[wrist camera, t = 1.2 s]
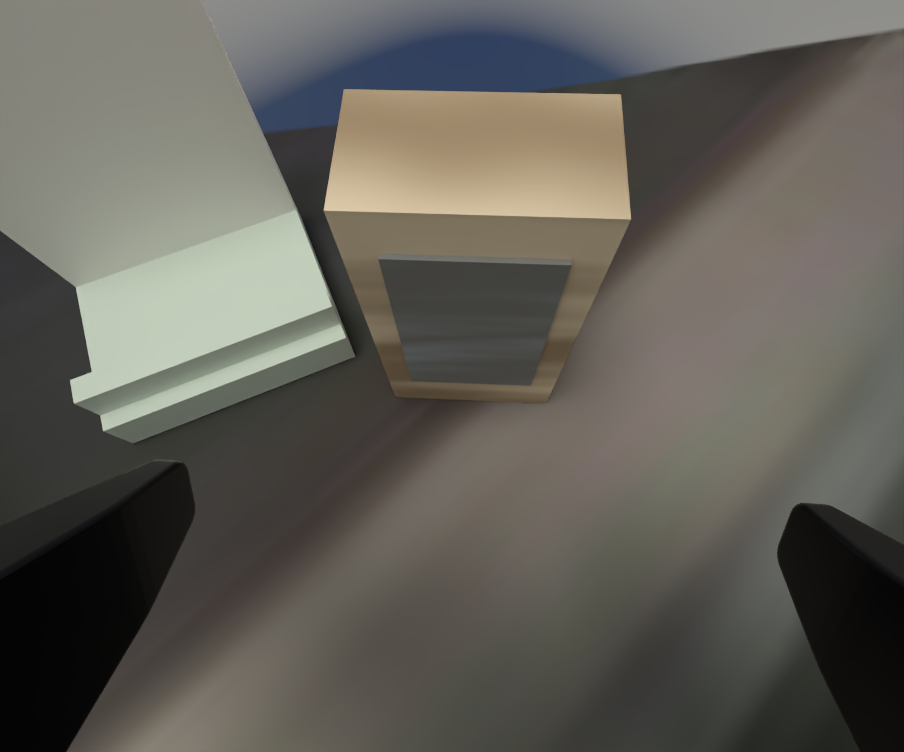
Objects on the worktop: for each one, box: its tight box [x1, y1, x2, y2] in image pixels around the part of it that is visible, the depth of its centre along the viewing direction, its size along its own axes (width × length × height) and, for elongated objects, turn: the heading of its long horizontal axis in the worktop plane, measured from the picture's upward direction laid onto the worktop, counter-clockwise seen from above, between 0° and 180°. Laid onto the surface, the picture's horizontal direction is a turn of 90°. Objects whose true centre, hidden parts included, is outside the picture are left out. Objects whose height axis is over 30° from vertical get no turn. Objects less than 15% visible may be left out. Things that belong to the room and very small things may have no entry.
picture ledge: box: [0, 0, 355, 443], centre depth 18 cm, size 8×10×14 cm
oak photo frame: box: [324, 89, 631, 404], centre depth 18 cm, size 4×6×12 cm, turn 87°
